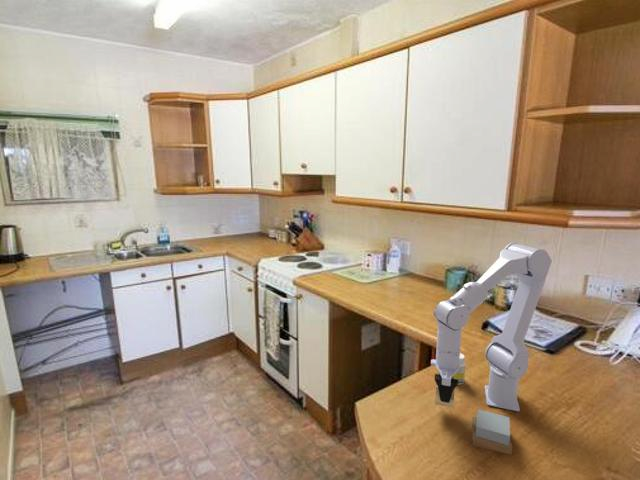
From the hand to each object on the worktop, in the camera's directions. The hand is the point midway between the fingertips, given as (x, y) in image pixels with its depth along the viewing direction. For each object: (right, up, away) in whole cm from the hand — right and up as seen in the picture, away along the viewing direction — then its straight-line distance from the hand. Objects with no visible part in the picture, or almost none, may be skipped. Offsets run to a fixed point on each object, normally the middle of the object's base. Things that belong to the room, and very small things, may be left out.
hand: (445, 395), depth 95 cm
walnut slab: (+8, -7, -8) cm, 14 cm away
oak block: (0, -2, 0) cm, 2 cm away
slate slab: (+8, -5, -9) cm, 13 cm away
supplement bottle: (+9, -2, +16) cm, 18 cm away
